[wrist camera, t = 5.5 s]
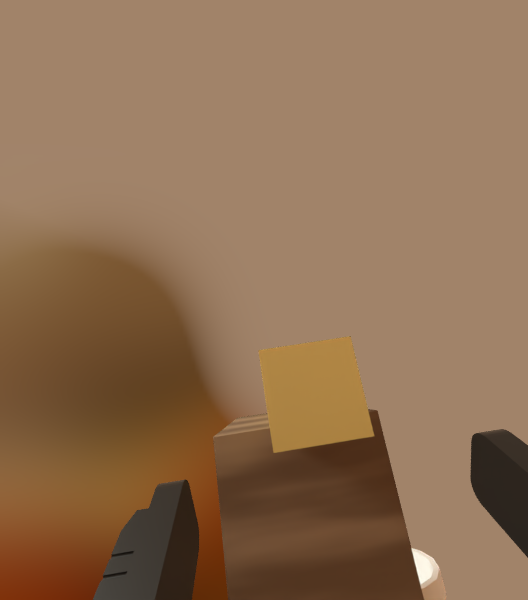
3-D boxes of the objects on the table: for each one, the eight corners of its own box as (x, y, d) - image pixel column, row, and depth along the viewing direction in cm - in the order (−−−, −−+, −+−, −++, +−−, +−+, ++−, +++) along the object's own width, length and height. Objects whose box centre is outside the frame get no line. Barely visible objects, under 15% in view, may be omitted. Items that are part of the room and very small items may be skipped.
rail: (374, 436, 10) (350, 336, 11) (273, 453, 10) (258, 350, 11) (297, 407, 35) (291, 376, 36) (267, 412, 35) (262, 381, 36)
